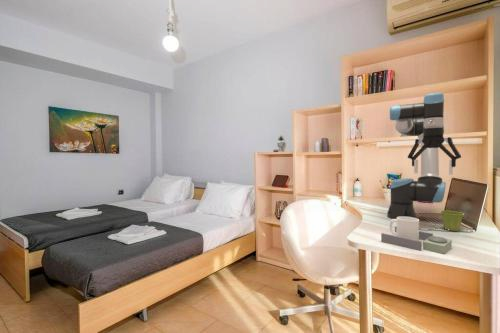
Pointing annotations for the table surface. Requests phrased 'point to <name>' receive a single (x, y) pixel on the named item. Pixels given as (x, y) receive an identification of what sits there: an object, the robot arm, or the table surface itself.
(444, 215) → the plant pot
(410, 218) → the cup
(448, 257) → the table surface
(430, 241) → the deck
